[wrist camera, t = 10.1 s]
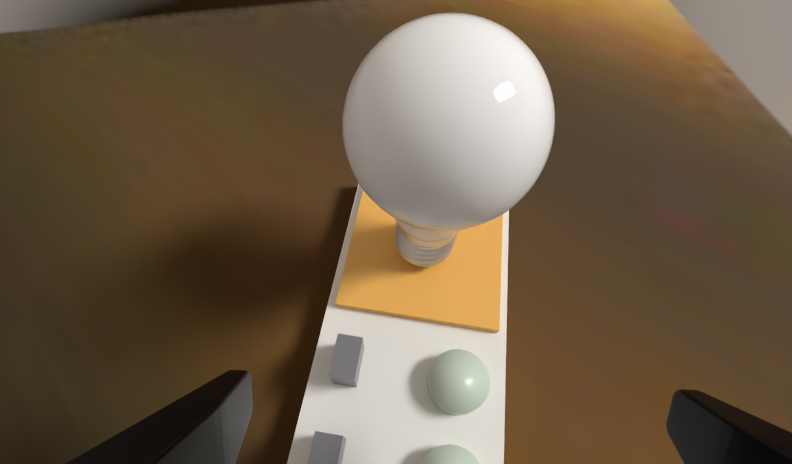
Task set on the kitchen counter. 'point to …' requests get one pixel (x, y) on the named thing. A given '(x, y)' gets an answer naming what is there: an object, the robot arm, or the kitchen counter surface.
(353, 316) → the control panel
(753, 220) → the kitchen counter surface
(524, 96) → the lightbulb
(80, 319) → the kitchen counter surface
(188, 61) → the kitchen counter surface
